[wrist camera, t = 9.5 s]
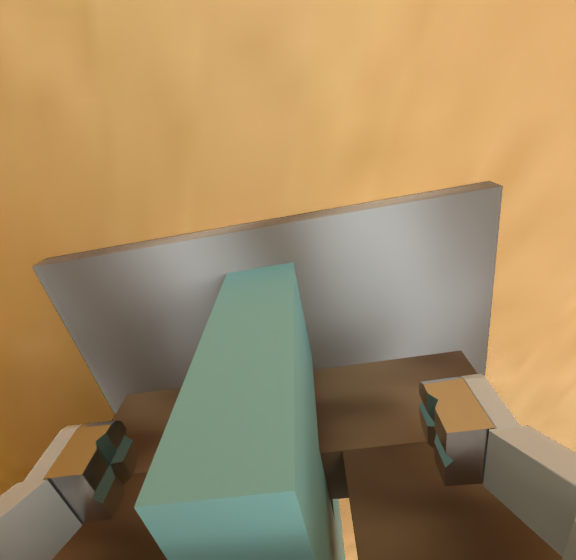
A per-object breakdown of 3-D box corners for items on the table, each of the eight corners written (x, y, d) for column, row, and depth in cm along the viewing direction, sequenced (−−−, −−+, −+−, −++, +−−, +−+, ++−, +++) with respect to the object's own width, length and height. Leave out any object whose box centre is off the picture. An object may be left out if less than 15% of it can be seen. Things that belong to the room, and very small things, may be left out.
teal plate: (226, 273, 12) (133, 507, 5) (293, 262, 12) (295, 490, 5) (288, 484, 17) (286, 745, 10) (336, 479, 17) (366, 742, 10)
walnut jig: (175, 499, 19) (96, 765, 12) (46, 258, 13) (-337, 493, 5) (467, 469, 18) (603, 750, 10) (489, 181, 11) (921, 342, 4)
